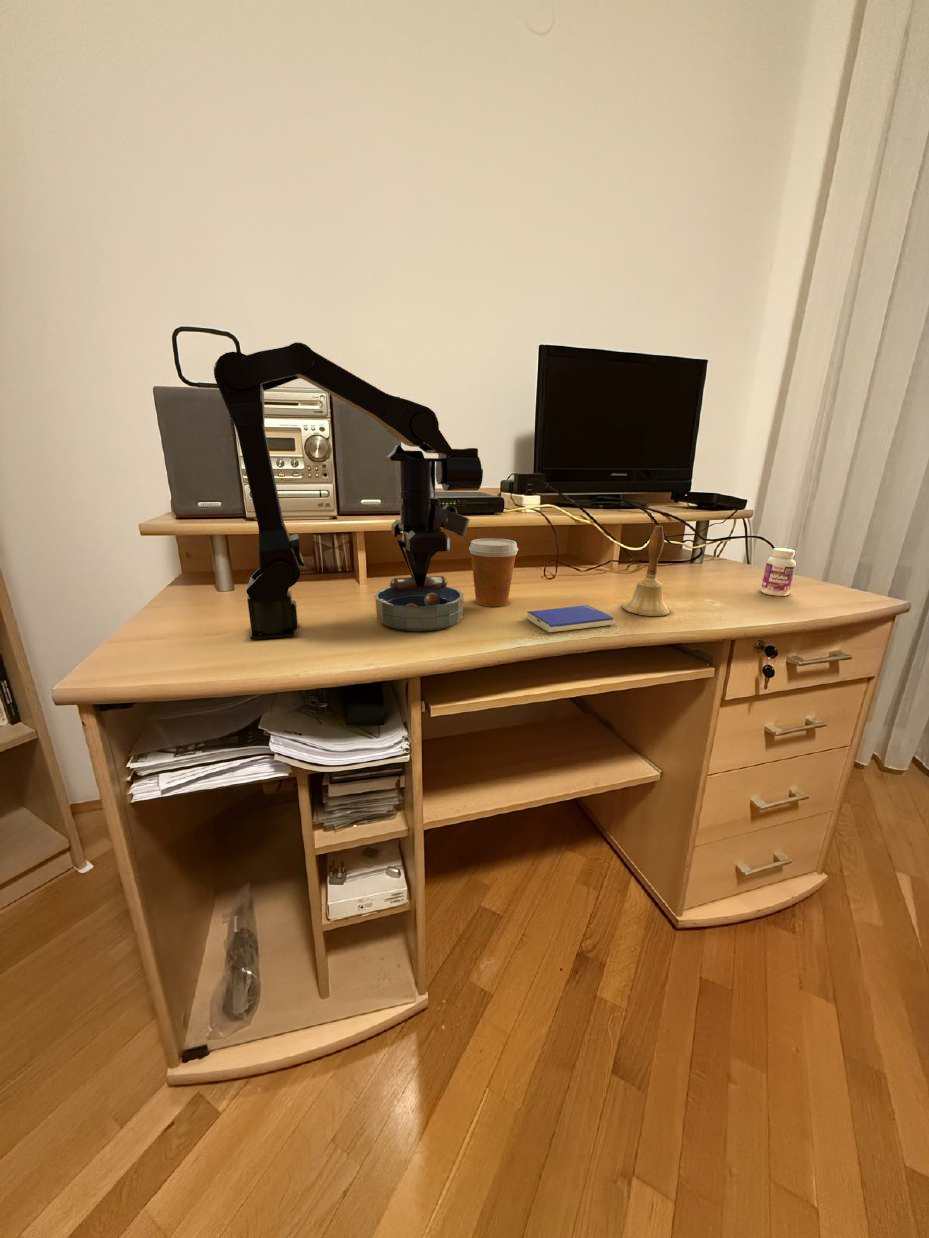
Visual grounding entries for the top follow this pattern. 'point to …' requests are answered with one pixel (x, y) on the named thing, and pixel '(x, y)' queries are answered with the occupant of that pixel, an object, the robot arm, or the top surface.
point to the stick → (410, 585)
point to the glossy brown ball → (432, 599)
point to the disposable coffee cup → (492, 569)
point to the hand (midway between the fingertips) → (418, 584)
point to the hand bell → (650, 582)
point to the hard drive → (569, 618)
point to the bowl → (418, 609)
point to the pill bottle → (779, 572)
